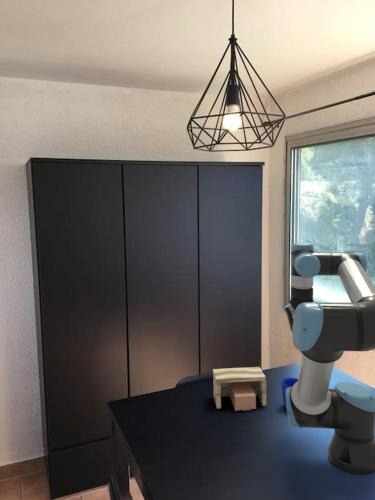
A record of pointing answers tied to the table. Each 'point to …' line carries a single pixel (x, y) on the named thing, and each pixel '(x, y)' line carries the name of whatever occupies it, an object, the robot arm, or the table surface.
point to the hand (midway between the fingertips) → (301, 350)
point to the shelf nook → (238, 375)
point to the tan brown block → (242, 396)
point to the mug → (286, 384)
